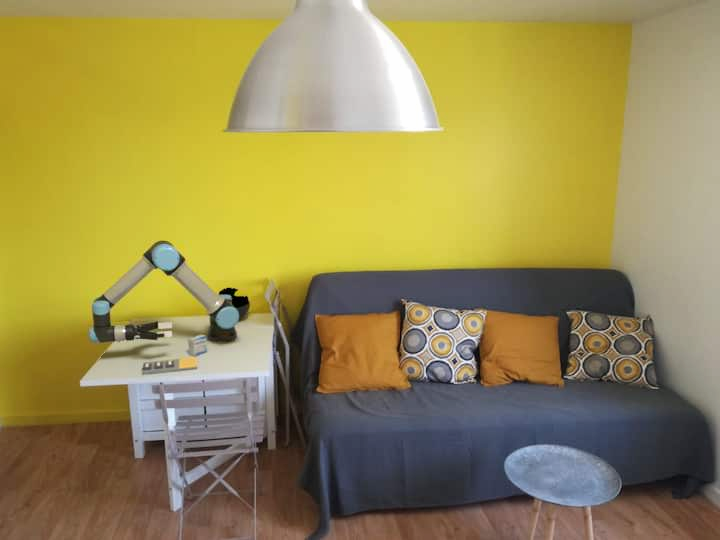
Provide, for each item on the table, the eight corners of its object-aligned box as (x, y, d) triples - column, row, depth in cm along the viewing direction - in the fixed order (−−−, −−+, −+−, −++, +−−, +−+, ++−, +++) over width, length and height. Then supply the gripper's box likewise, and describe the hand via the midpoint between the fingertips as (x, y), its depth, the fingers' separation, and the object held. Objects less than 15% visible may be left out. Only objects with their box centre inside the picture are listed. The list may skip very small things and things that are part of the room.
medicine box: (195, 356, 298) (194, 340, 296) (188, 355, 300) (187, 338, 298) (207, 352, 304) (206, 335, 302) (201, 350, 307) (200, 333, 304)
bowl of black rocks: (235, 313, 366) (233, 282, 362) (258, 319, 354) (256, 288, 350) (208, 321, 351) (206, 289, 347) (230, 328, 339) (228, 295, 335)
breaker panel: (196, 359, 295) (196, 353, 294) (197, 369, 283) (197, 363, 282) (143, 364, 288) (143, 358, 288) (142, 375, 276) (141, 368, 275)
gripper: (127, 332, 302) (172, 328, 308) (123, 349, 279) (172, 345, 285) (126, 317, 301) (171, 314, 307) (122, 333, 277) (171, 330, 283)
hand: (172, 329), depth 296 cm, fingers open, 13 cm apart
